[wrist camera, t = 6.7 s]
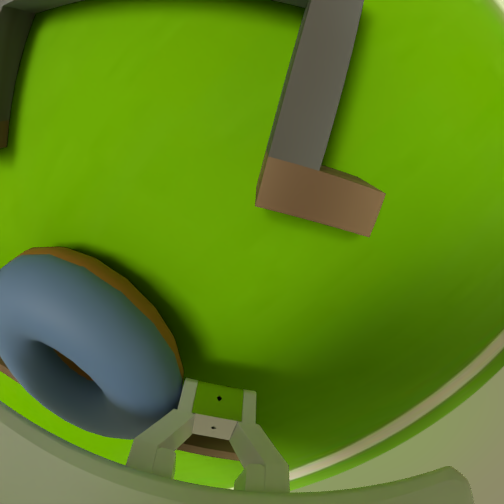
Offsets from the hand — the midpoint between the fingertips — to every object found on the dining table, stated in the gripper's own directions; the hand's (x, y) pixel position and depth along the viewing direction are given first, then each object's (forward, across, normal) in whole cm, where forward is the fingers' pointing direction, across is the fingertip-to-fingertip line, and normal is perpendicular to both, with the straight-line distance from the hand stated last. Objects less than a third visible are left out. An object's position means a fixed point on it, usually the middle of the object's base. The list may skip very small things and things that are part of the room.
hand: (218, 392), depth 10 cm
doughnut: (+2, +6, 0) cm, 7 cm away
